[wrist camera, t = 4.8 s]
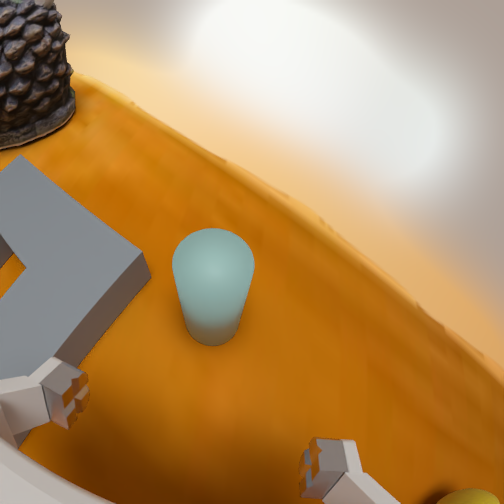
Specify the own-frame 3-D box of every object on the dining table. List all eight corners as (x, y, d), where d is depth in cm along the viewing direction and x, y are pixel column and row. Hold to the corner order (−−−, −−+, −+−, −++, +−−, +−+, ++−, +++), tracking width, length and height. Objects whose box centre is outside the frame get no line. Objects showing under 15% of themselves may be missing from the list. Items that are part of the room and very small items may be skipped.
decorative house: (97, 88, 38) (83, -58, 16) (68, 148, 30) (27, -47, 9) (-3, 111, 34) (-35, -6, 13) (-42, 173, 27) (-99, 36, 5)
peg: (248, 314, 23) (269, 254, 15) (219, 356, 21) (223, 317, 14) (205, 286, 24) (205, 216, 16) (174, 325, 22) (155, 269, 14)
